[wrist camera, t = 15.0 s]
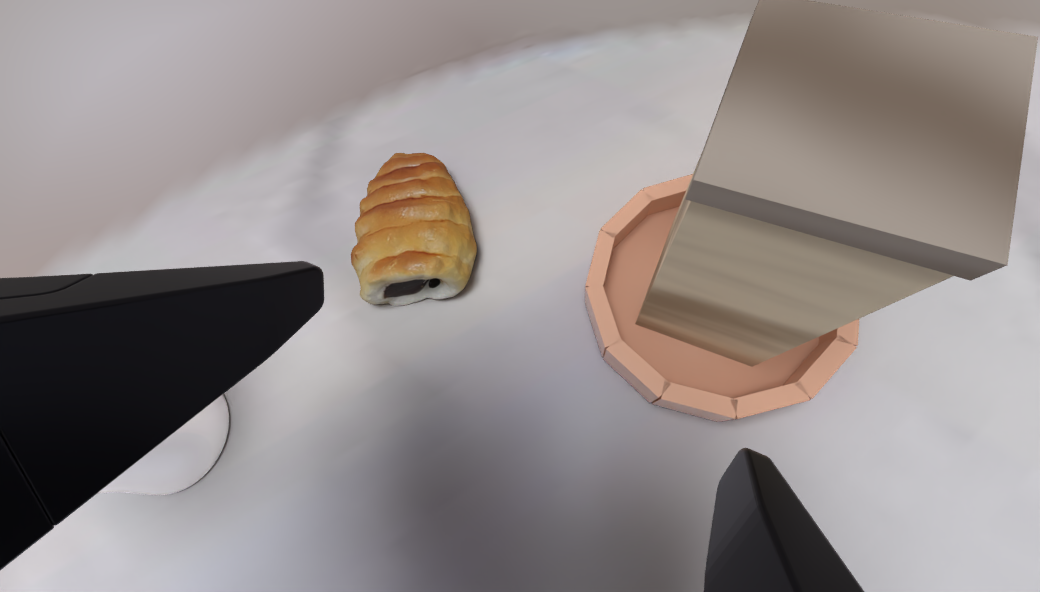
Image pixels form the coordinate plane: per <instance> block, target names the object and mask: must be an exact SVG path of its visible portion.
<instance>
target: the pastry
mask: <svg viewBox="0 0 1040 592" xmlns="http://www.w3.org/2000/svg"><path fill="white" fill-rule="evenodd" d="M355 232H356V236H357V239H358V243H357V245H356V246H355V247H354V248H353V250H352V253H351V262H352V265H353V267H354V268H355V270H356V273H357V275H358V278H359V281H360V286H361V290H360V296H361V298H362V299H363V300H364V301H366V302H368V303H370V304H372V305H375V304H386V303H389V304H391V305H393V306H401V305H408V304H410V303H413V302H418V301H421V300H423V299H425V298H432V299H445V298H449V297H454V296H455V295H456V294H458V293H459V292H460V291H462V290H463V289H464V287H465V286H466V284H467V282H468V280H469V278H470V275H471V272H472V268H473V264H474V261H475V257H476V253H477V245H476V242H475V239H474V236H473V231H472V226H471V221H470V215H469V211H468V209H467V207H466V205H465V203H464V200H463V198H462V196H461V194H460V193H459V191H458V189H457V187H456V184H455V183H454V181H453V180H452V178H451V176H450V174H449V173H448V171H447V169H446V166H445V165H444V164H443V163H442V162H441V161H440V160H438V159H437V158H436V157H434V156H432V155H429V154H426V153H413V154H405V153H395V154H394V155H393V156H392V157H391V158H390V159H389V160H388V161H387V162H386V163H384V165H383V166H382V167H381V168H380V170H379V172H378V174H377V175H376V177H375V178H374V179H373V180H371V181H370V182H369V184H368V188H367V197H366V198H364V199H362V200H361V202H360V217H359V218H358V219H357V221H356V222H355Z"/></svg>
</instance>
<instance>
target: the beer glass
mask: <svg viewBox="0 0 1040 592" xmlns="http://www.w3.org/2000/svg"><path fill="white" fill-rule="evenodd" d="M228 429H229V411H228V406H227V403H226V400H225V398H224V396H223V394H222V395H221V396H220V397H219V398H217V399H216V400H215V401H214V402H212V403H211V404H210V405H208V406H207V407H206V408H205V409H203V410H202V411H201V412H200V413H198V414H197V415H196V416H195V417H193V418H192V419H191V420H189V421H188V422H187V423H186V424H184V425H183V426H182V427H181V428H179V429H178V430H177V431H176V432H174V433H173V434H172V435H170V436H169V437H168V438H167V439H165V440H164V441H163V442H162V443H160V444H159V445H158V446H157V447H155V448H154V449H153V450H151V451H150V452H149V453H148V454H146V455H145V456H144V457H143V458H141V459H140V460H139V461H137V462H136V463H135V464H134V465H132V466H131V467H130V468H129V469H127V470H126V471H125V472H124V473H122V474H121V475H120V476H118V477H117V478H116V479H115V480H113V481H112V482H111V483H110V484H108V485H107V486H106V487H105V488H103V489H102V490H101V491H99V492H98V493H110V492H123V493H135V494H145V495H168V494H173V493H176V492H179V491H182V490H184V489H186V488H188V487H190V486H192V485H193V484H195V483H196V482H197V481H199V480H200V479H201V478H202V477H203V476H204V475H205V474H206V473H207V472H208V471H209V470H210V469H211V467H212V466H213V465H214V463H215V462H216V460H217V459H218V457H219V455H220V454H221V452H222V449H223V447H224V445H225V442H226V438H227V435H228Z"/></svg>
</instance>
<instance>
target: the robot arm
mask: <svg viewBox="0 0 1040 592" xmlns="http://www.w3.org/2000/svg"><path fill="white" fill-rule="evenodd" d="M323 303H324V278H323V272H322V270H321V269H320V268H319V267H318V266H315V265H313V264H311V263H308V262H304V261H298V262H281V263H264V264H247V265H231V266H214V267H197V268H180V269H163V270H146V271H130V272H113V273H97V274H94V275H92V274H78V275H60V276H40V277H19V278H0V570H1V569H3V568H4V567H5V566H6V565H8V564H9V563H10V562H11V561H13V560H14V559H15V558H16V557H18V556H19V555H20V554H22V553H23V552H24V551H25V550H27V549H28V548H29V547H30V546H32V545H33V544H34V543H35V542H37V541H38V540H39V539H41V538H42V537H43V536H44V535H46V534H47V533H48V532H49V531H51V530H52V529H53V528H54V525H57V524H59V523H60V522H61V521H63V520H64V519H65V518H66V517H68V516H69V515H70V514H72V513H73V512H74V511H75V510H77V509H78V508H79V507H80V506H82V505H83V504H84V503H85V502H87V501H88V500H89V499H91V498H92V497H93V496H94V495H96V494H97V493H98V492H99V491H101V490H102V489H103V488H105V487H106V486H107V485H108V484H110V483H111V482H112V481H113V480H115V479H116V478H117V477H118V476H120V475H121V474H122V473H124V472H125V471H126V470H127V469H129V468H130V467H131V466H132V465H134V464H135V463H136V462H137V461H139V460H140V459H141V458H143V457H144V456H145V455H146V454H148V453H149V452H150V451H151V450H153V449H154V448H155V447H157V446H158V445H159V444H160V443H162V442H163V441H164V440H165V439H167V438H168V437H169V436H170V435H172V434H173V433H174V432H176V431H177V430H178V429H179V428H181V427H182V426H183V425H184V424H186V423H187V422H188V421H189V420H191V419H192V418H193V417H195V416H196V415H197V414H198V413H200V412H201V411H202V410H203V409H205V408H206V407H207V406H208V405H210V404H211V403H212V402H214V401H215V400H216V399H217V398H219V397H220V396H221V395H222V394H224V393H225V392H226V391H228V390H229V389H230V388H231V387H233V386H234V385H235V384H236V383H238V382H239V381H240V380H241V379H243V378H244V377H245V376H247V375H248V374H249V373H250V372H252V371H253V370H254V369H255V368H257V367H258V366H259V365H260V364H262V363H263V362H264V361H265V360H267V359H268V358H269V357H270V356H271V355H272V354H274V353H275V352H276V351H277V350H278V349H279V348H280V347H281V346H282V345H283V344H284V343H285V342H286V341H288V340H289V339H290V338H291V337H292V336H293V335H294V334H295V333H296V332H297V331H298V330H299V329H300V328H301V327H302V326H303V325H304V324H305V323H306V322H308V321H309V320H310V319H311V318H312V317H313V316H314V315H315V314H316V313H317V312H318V311H319V310H320V309H321V307H322V305H323ZM704 592H864V591H863V589H862V588H861V586H860V585H859V584H858V582H857V581H856V579H855V578H854V576H853V575H852V574H851V572H850V571H849V569H848V568H847V567H846V565H845V564H844V562H843V561H842V559H841V558H840V557H839V555H838V554H837V552H836V551H835V550H834V548H833V547H832V545H831V544H830V542H829V541H828V540H827V538H826V537H825V535H824V534H823V533H822V531H821V530H820V528H819V527H818V525H817V524H816V523H815V521H814V520H813V518H812V517H811V516H810V514H809V513H808V511H807V510H806V509H805V507H804V506H803V504H802V503H801V501H800V500H799V499H798V497H797V496H796V494H795V493H794V492H793V490H792V489H791V487H790V486H789V484H788V483H787V482H786V480H785V479H784V477H783V476H782V475H781V473H780V472H779V470H778V469H777V467H776V466H775V465H774V463H773V462H772V461H771V459H770V458H768V457H767V456H765V455H762V454H760V453H758V452H755V451H753V450H750V449H748V448H743V449H741V450H740V451H739V452H738V453H737V455H736V456H735V458H734V459H733V461H732V462H731V464H730V465H729V467H728V468H727V470H726V471H725V473H724V474H723V476H722V478H721V480H720V482H719V485H718V488H717V493H716V500H715V507H714V514H713V521H712V528H711V534H710V541H709V548H708V555H707V562H706V570H705V583H704Z"/></svg>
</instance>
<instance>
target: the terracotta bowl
mask: <svg viewBox="0 0 1040 592" xmlns="http://www.w3.org/2000/svg"><path fill="white" fill-rule="evenodd" d="M692 176H693V174H691V175H688V176H684V177H681V178H677V179H674V180H670V181H667V182H663V183H660V184H656V185H653V186H649V187H646V188H643V190H642V189H641V190H640V191H639V192H638V193H637V194H636V195H635V196H634V197H633V198H632V199H631V200H630V201H629V202H628V203H627V204H626V205H625V206H624V207H623V208H621V209H620V210H619V211H618V212H617V213H616V214H615V215H614V216H613V217H612V218H611V219H610V220H609V221H608V222H607V223H606V224H605V225H604V226H603V227H602V228H601V230H600V231H599V235H598V239H597V243H596V247H595V250H594V254H593V258H592V262H591V266H590V270H589V274H588V278H587V282H586V288H585V305H586V308H587V311H588V314H589V317H590V321H591V324H592V327H593V330H594V333H595V336H596V339H597V343H598V346H599V349H600V352H601V355H602V358H603V357H604V359H603V360H604V361H606V362H607V363H608V364H609V365H610V366H611V367H612V368H613V369H614V370H615V371H616V372H617V373H618V374H619V375H621V376H622V377H623V378H624V379H625V380H626V381H627V382H628V383H629V384H630V385H631V386H632V387H633V388H634V389H636V390H637V391H638V392H639V393H640V394H641V395H642V396H643V397H644V398H645V399H646V400H647V401H648V402H649V403H651V402H652V404H654V405H657V406H661V407H665V408H668V409H672V410H676V411H679V412H683V413H687V414H690V415H694V416H698V417H702V418H705V419H709V420H713V421H716V422H721V421H727V420H734V419H739V418H743V417H747V416H751V415H755V414H758V413H762V412H766V411H770V410H774V409H778V408H782V407H785V406H789V405H793V404H797V403H801V402H805V401H809V400H810V399H813V397H814V396H815V395H816V394H817V393H818V392H819V390H820V389H821V388H822V387H823V386H824V385H825V384H826V382H827V381H828V380H829V379H830V378H831V377H832V375H833V374H834V373H835V372H836V371H837V370H838V369H839V367H840V366H841V365H842V364H843V363H844V362H845V360H846V359H847V358H848V357H849V356H850V355H851V354H852V352H853V351H854V350H855V349H856V348H857V347H856V346H857V345H858V331H859V319H857V320H855V321H852V322H850V323H848V324H846V325H844V326H841V327H839V328H837V329H835V330H832V331H830V332H828V333H826V334H824V335H821V336H819V337H817V338H815V339H813V340H810V341H808V342H806V343H804V344H801V345H799V346H797V347H795V348H793V349H790V350H788V351H786V352H784V353H781V354H779V355H777V356H775V357H773V358H770V359H768V360H766V361H764V362H761V363H759V364H757V365H755V366H753V367H751V366H748V365H745V364H743V363H740V362H737V361H734V360H732V359H729V358H726V357H724V356H721V355H718V354H715V353H713V352H710V351H707V350H704V349H702V348H699V347H696V346H694V345H691V344H688V343H685V342H683V341H680V340H677V339H674V338H672V337H669V336H666V335H664V334H661V333H658V332H655V331H653V330H650V329H647V328H644V327H642V326H639V325H636V324H635V323H636V320H637V318H638V315H639V312H640V310H641V307H642V304H643V302H644V299H645V296H646V293H647V291H648V288H649V285H650V283H651V280H652V277H653V274H654V272H655V269H656V266H657V264H658V261H659V258H660V255H661V253H662V250H663V247H664V245H665V242H666V239H667V237H668V234H669V231H670V229H671V226H672V224H673V221H674V219H675V217H676V214H677V212H678V209H679V207H680V205H681V202H682V200H683V197H684V195H685V193H686V190H687V188H688V185H689V183H690V181H691V178H692Z"/></svg>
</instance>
